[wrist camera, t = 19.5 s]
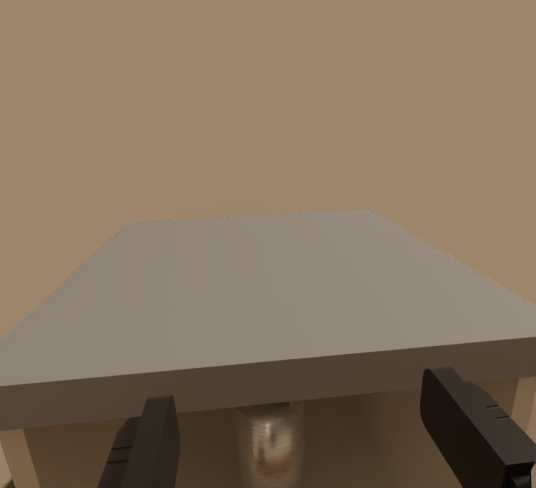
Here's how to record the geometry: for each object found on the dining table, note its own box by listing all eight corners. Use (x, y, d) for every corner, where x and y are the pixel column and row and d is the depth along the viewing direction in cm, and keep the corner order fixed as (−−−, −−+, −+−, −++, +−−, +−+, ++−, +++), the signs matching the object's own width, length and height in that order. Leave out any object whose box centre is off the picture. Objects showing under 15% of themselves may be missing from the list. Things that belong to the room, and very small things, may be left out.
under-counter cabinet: (360, 396, 47) (369, 208, 39) (496, 675, 23) (581, 332, 16) (157, 417, 45) (126, 222, 37) (75, 747, 21) (-55, 391, 14)
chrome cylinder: (299, 477, 35) (297, 367, 31) (311, 538, 29) (311, 415, 26) (241, 485, 34) (232, 374, 30) (243, 548, 29) (233, 423, 25)
